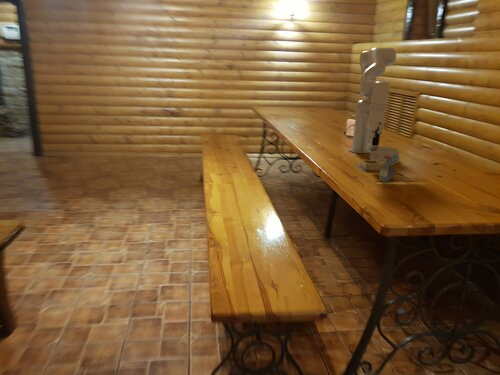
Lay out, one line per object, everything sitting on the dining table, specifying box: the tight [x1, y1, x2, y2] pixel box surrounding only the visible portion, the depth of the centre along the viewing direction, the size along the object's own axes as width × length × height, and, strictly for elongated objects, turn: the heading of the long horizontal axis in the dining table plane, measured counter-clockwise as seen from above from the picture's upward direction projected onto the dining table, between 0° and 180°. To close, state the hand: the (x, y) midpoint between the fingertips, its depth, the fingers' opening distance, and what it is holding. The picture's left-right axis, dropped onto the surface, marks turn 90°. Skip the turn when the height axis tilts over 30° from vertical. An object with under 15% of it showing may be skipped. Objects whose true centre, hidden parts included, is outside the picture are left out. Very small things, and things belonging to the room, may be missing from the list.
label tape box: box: [378, 155, 397, 184], centre depth 180 cm, size 9×4×12 cm, turn 141°
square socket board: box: [359, 155, 393, 171], centre depth 196 cm, size 8×16×7 cm, turn 93°
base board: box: [353, 163, 397, 173], centre depth 198 cm, size 14×18×1 cm
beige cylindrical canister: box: [368, 130, 379, 151], centre depth 192 cm, size 4×4×11 cm
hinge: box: [368, 146, 401, 163], centre depth 214 cm, size 17×5×10 cm, turn 88°
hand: (373, 143), depth 193 cm, fingers closed on beige cylindrical canister, 4 cm apart
